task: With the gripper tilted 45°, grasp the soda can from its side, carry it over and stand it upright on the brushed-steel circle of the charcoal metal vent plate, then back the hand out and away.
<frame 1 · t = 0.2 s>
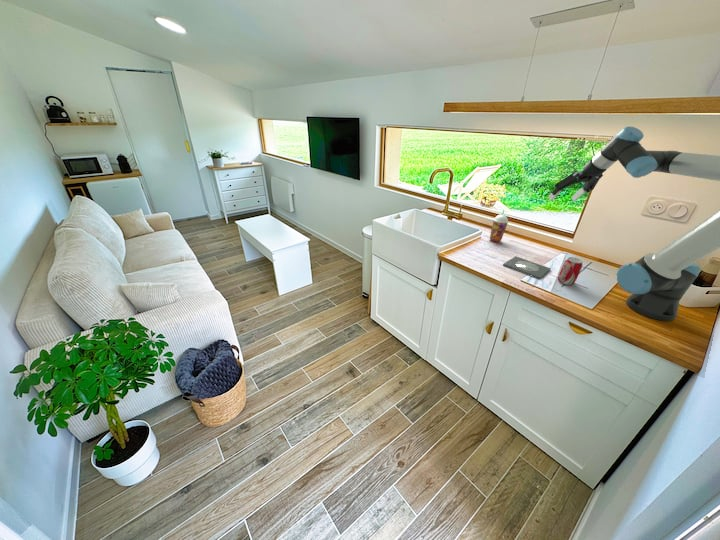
hand: (561, 199, 137), 34 cm above the worktop, tool tilted 30°, fingers open, 13 cm apart
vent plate: (526, 267, 146), on the worktop
smoothie: (494, 241, 177), on the worktop
soda can: (564, 282, 134), on the worktop
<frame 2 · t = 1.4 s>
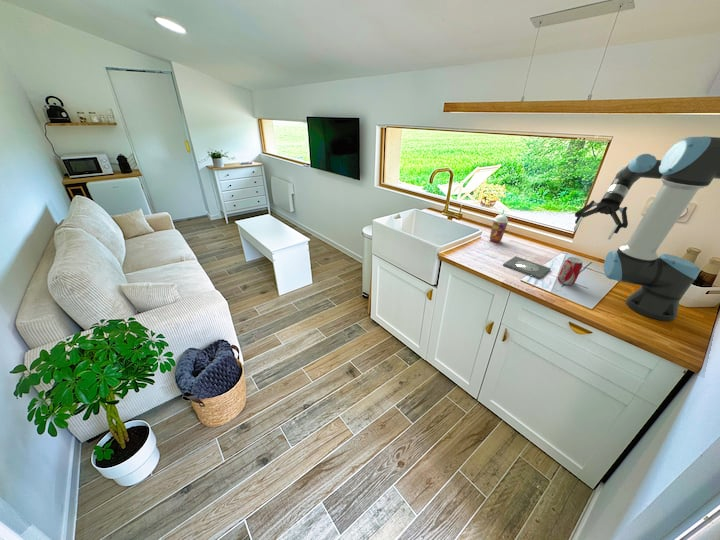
hand: (591, 233, 131), 22 cm above the worktop, tool tilted 45°, fingers open, 13 cm apart
nothing on the worktop moved.
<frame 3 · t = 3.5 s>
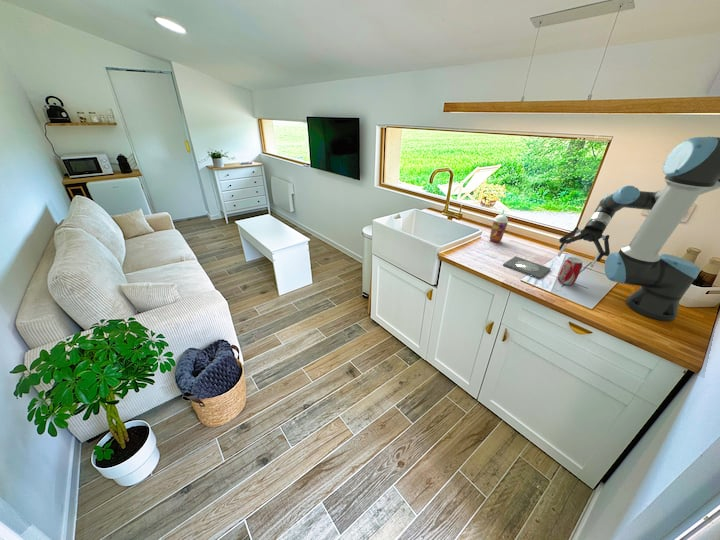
hand: (574, 260, 133), 10 cm above the worktop, tool tilted 45°, fingers open, 13 cm apart
nothing on the worktop moved.
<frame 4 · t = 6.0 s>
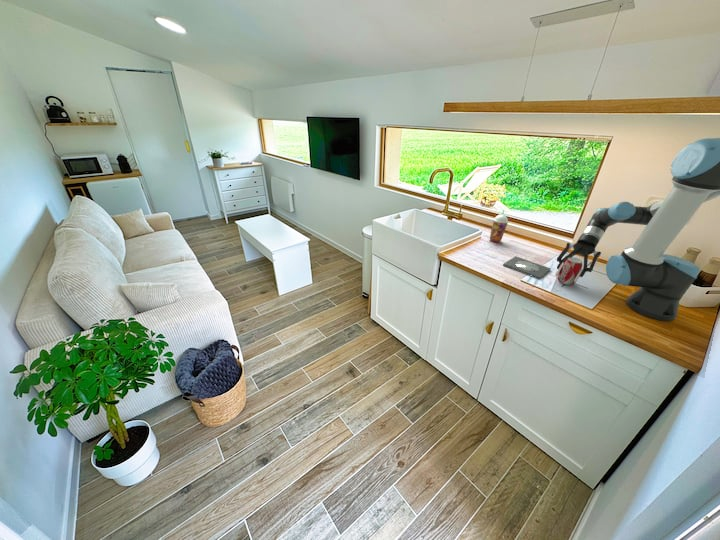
hand: (565, 278, 130), 4 cm above the worktop, tool tilted 45°, fingers closed on soda can, 7 cm apart
soda can: (564, 282, 134), on the worktop, touching gripper
everything else where it was.
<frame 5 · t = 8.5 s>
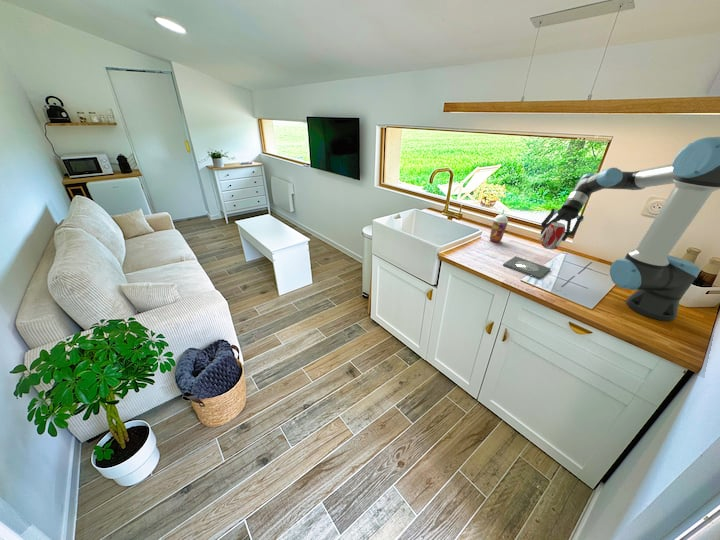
hand: (548, 242, 133), 17 cm above the worktop, tool tilted 45°, fingers closed on soda can, 7 cm apart
soda can: (548, 247, 137), point 13 cm above the worktop, touching gripper
everything else where it was.
when the fingers open (6 cm above the worktop, at t = 11.5 s): soda can drops 1 cm, resting on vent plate.
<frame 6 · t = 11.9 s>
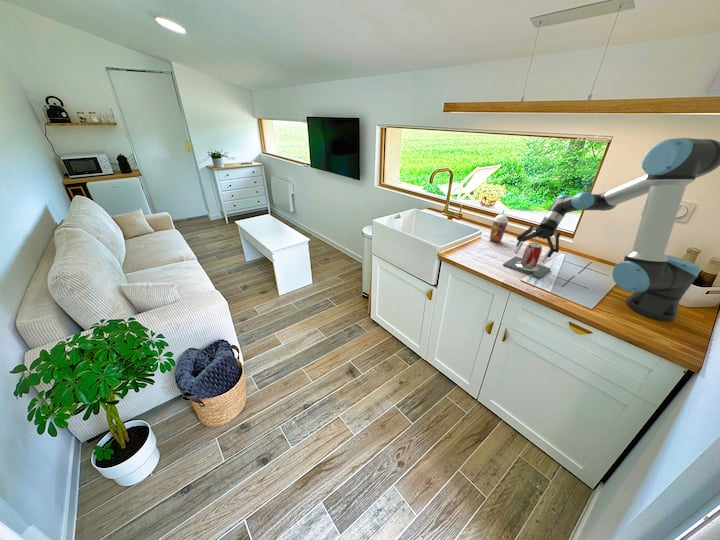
hand: (528, 256, 141), 7 cm above the worktop, tool tilted 45°, fingers open, 12 cm apart
soda can: (527, 266, 145), point 1 cm above the worktop, touching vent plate
everything else where it was.
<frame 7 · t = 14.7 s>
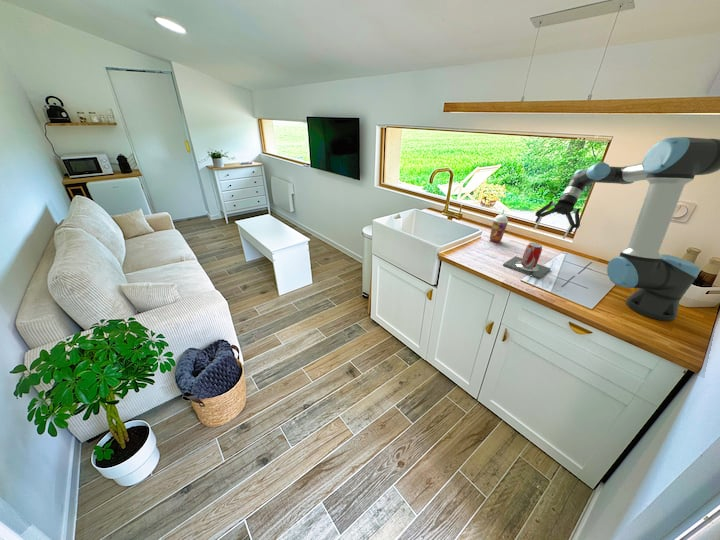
hand: (549, 232, 143), 17 cm above the worktop, tool tilted 40°, fingers open, 13 cm apart
nothing on the worktop moved.
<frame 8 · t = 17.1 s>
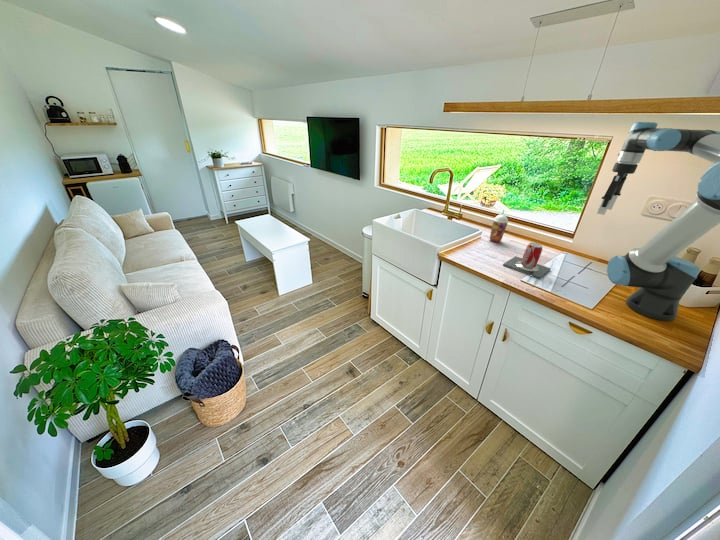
hand: (604, 211, 129), 32 cm above the worktop, tool pointing down, fingers open, 13 cm apart
nothing on the worktop moved.
at the end: soda can inside the target area on the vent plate (0.2 cm from its centre), point 1.0 cm above the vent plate's base; soda can tilted 1°; the gripper is holding nothing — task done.
